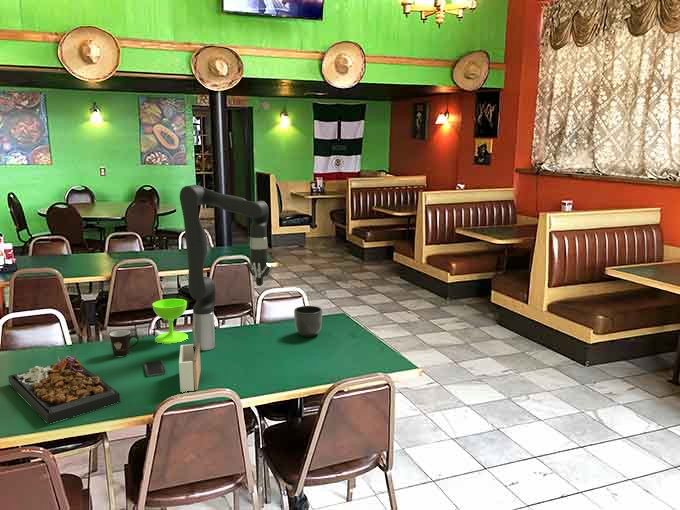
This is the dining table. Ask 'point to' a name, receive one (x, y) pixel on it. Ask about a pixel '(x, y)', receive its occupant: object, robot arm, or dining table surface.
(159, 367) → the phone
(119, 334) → the coffee mug
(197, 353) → the panel
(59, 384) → the food platter
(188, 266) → the robot arm
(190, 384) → the box
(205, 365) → the dining table surface
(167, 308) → the wineglass
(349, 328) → the dining table surface
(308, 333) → the planter
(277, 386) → the dining table surface
